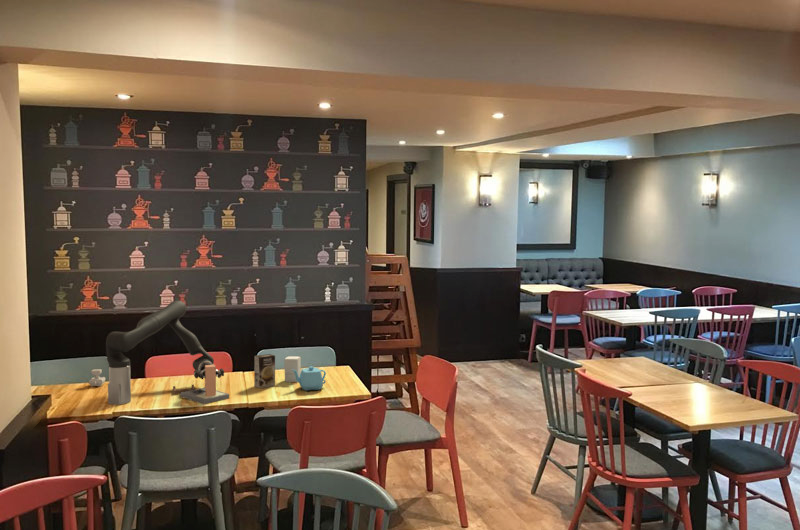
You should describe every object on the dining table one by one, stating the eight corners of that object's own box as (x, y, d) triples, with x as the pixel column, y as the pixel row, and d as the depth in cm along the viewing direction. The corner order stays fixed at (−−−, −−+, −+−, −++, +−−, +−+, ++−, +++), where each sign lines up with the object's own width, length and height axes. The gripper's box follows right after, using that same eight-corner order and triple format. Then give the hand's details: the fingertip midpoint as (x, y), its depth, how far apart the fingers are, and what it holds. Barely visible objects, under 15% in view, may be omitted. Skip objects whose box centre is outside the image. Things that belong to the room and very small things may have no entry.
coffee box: (259, 388, 331) (259, 357, 330) (254, 386, 336) (253, 355, 335) (275, 385, 337) (275, 355, 336) (269, 383, 342) (269, 353, 341)
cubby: (195, 392, 322) (195, 388, 322) (174, 394, 319) (174, 390, 318) (193, 388, 331) (193, 384, 331) (172, 390, 327) (172, 386, 327)
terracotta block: (216, 395, 309) (215, 366, 308) (206, 396, 307) (205, 367, 307) (214, 393, 313) (214, 364, 312) (205, 394, 312) (204, 365, 311)
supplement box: (301, 379, 352) (301, 356, 351) (297, 382, 345) (297, 359, 344) (287, 378, 353) (287, 355, 352) (284, 382, 346) (284, 358, 345)
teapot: (288, 387, 334) (288, 365, 334) (323, 384, 340) (323, 363, 340) (293, 393, 323) (293, 370, 322) (328, 390, 329) (328, 368, 328)
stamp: (102, 387, 331) (101, 371, 330) (88, 388, 330) (87, 372, 329) (106, 383, 340) (105, 367, 339) (92, 384, 338) (92, 368, 338)
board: (229, 398, 313) (229, 393, 312) (204, 404, 302) (203, 399, 302) (205, 391, 325) (205, 386, 325) (180, 396, 315) (180, 392, 314)
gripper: (191, 363, 320) (195, 370, 305) (221, 360, 325) (226, 367, 310) (191, 378, 320) (195, 385, 305) (221, 375, 326) (226, 383, 311)
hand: (211, 376), depth 308 cm, fingers open, 7 cm apart
